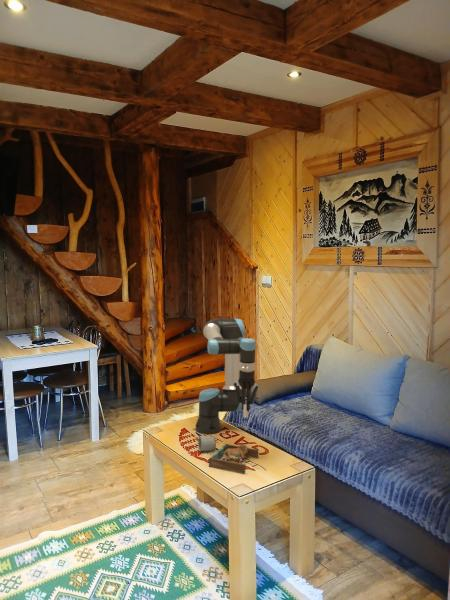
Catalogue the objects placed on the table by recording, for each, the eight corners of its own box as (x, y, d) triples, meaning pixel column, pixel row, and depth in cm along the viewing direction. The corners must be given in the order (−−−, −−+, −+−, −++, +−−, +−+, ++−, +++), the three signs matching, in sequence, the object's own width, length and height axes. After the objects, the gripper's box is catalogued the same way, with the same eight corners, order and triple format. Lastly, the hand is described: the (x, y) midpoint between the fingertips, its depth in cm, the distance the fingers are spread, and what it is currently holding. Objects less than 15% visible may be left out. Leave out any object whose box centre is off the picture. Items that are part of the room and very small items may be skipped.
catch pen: (225, 451, 242) (225, 443, 242) (258, 457, 235) (258, 449, 235) (208, 466, 223) (209, 458, 223) (244, 473, 217) (244, 465, 216)
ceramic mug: (216, 452, 240) (216, 437, 240) (200, 453, 238) (200, 439, 238) (211, 445, 250) (211, 430, 250) (196, 446, 248) (196, 432, 248)
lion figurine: (248, 463, 231) (244, 448, 238) (252, 456, 228) (247, 441, 235) (220, 463, 226) (217, 448, 234) (223, 456, 224) (220, 441, 231)
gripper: (231, 370, 229) (230, 417, 231) (257, 373, 224) (255, 421, 227) (237, 366, 236) (235, 412, 238) (261, 370, 231) (260, 416, 234)
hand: (245, 416), depth 233 cm, fingers closed
